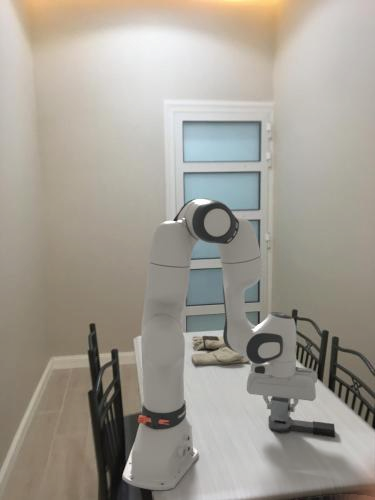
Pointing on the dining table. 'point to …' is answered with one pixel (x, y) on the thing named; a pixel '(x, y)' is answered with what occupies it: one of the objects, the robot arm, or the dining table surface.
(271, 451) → the dining table surface
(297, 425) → the ratchet
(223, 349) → the pair of gloves
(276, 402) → the plain grey cube block
